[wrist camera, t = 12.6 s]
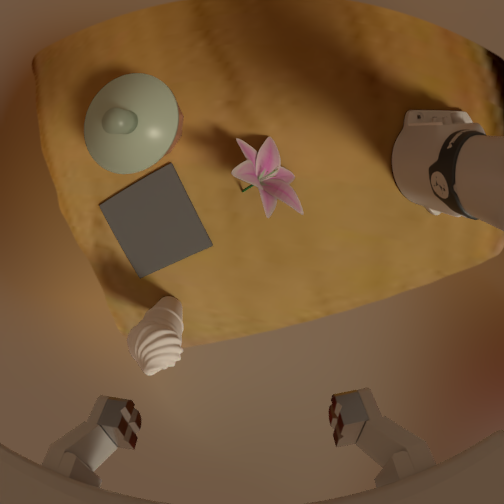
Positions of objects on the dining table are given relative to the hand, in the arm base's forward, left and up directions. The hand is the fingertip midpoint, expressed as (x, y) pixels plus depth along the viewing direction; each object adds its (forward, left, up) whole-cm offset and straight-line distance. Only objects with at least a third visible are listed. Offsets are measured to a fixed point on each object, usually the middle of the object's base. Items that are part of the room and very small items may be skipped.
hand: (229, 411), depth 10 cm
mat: (+13, -4, -34) cm, 36 cm away
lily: (-6, -3, -34) cm, 35 cm away
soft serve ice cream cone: (+18, +10, -34) cm, 40 cm away
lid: (+7, -18, -27) cm, 33 cm away
